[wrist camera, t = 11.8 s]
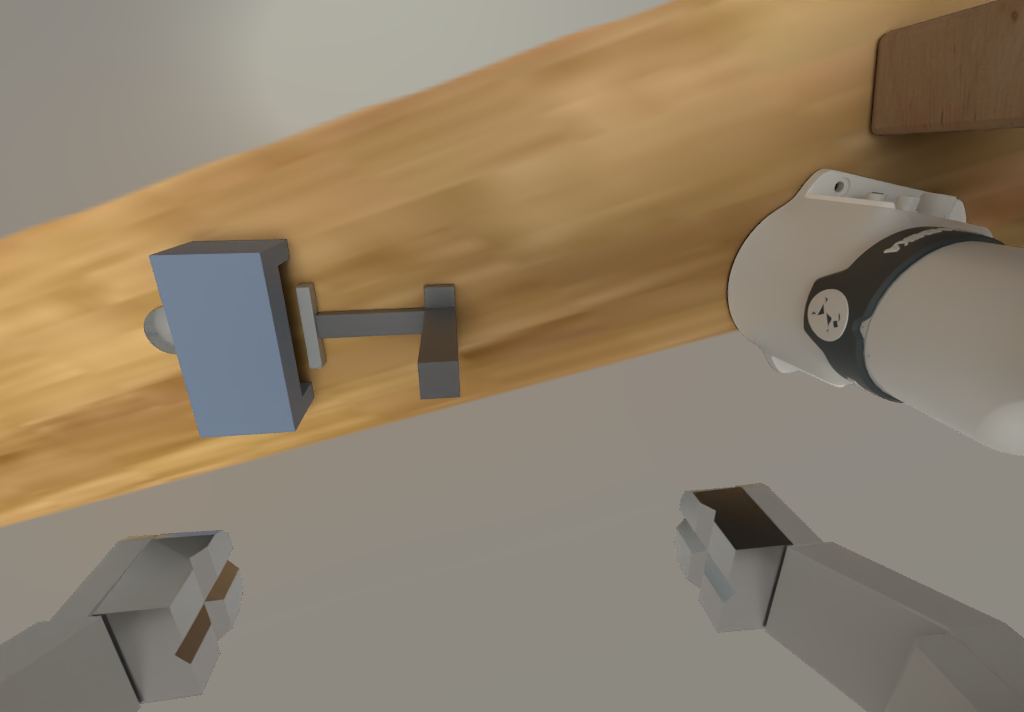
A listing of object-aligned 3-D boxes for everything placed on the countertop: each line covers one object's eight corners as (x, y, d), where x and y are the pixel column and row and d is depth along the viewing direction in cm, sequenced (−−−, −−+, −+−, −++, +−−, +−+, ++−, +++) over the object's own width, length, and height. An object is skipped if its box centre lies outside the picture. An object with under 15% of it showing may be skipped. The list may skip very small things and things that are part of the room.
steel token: (197, 302, 40) (191, 306, 39) (208, 348, 41) (203, 352, 40) (144, 305, 39) (137, 308, 39) (158, 350, 41) (151, 355, 40)
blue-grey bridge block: (286, 239, 39) (259, 252, 33) (314, 397, 44) (295, 431, 38) (192, 241, 38) (148, 255, 32) (232, 401, 43) (200, 437, 38)
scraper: (453, 278, 41) (456, 326, 29) (457, 354, 44) (461, 427, 32) (300, 283, 40) (238, 336, 28) (314, 361, 43) (262, 441, 31)
